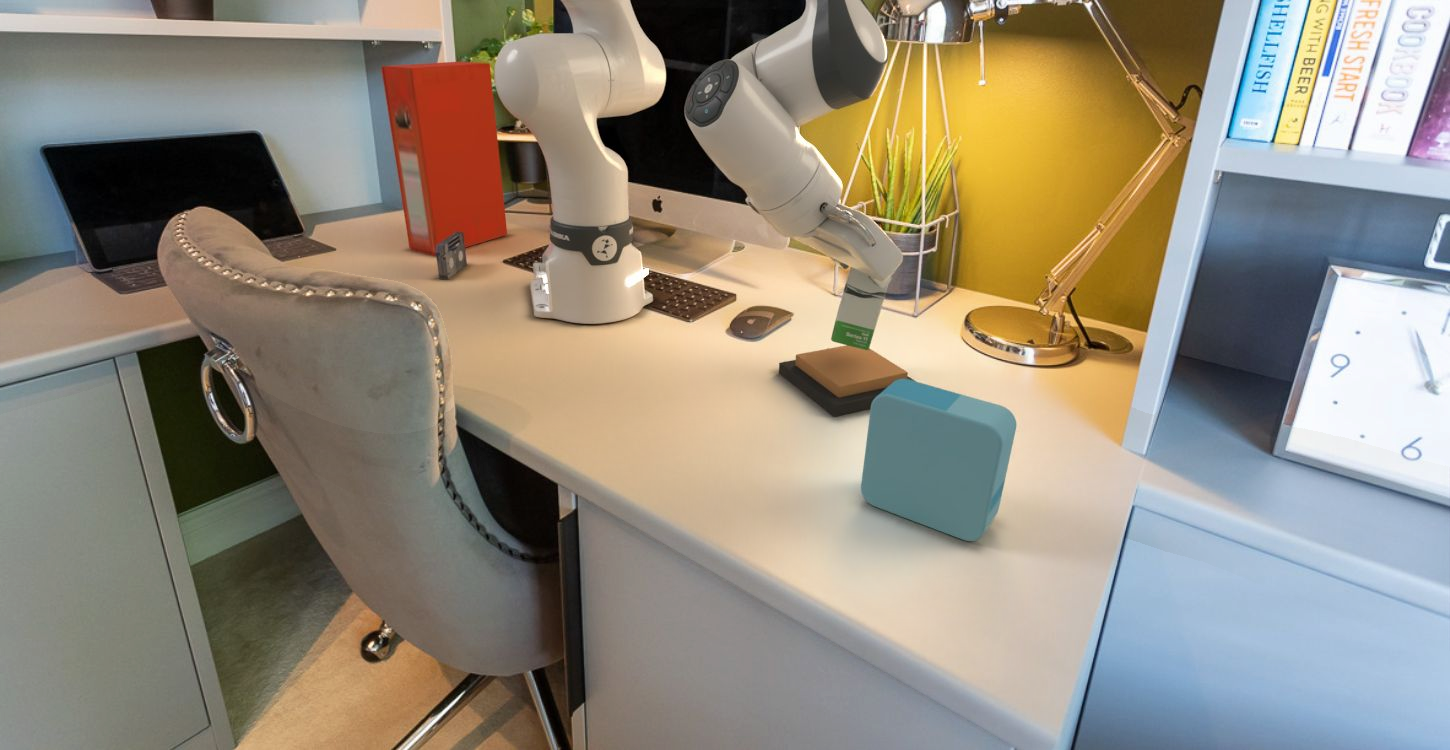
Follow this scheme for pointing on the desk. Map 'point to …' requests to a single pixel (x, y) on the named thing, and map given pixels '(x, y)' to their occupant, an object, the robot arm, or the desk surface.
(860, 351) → the pad stack
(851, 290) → the ink box
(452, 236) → the mini dv tape
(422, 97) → the file binder
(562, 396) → the desk surface
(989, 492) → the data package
